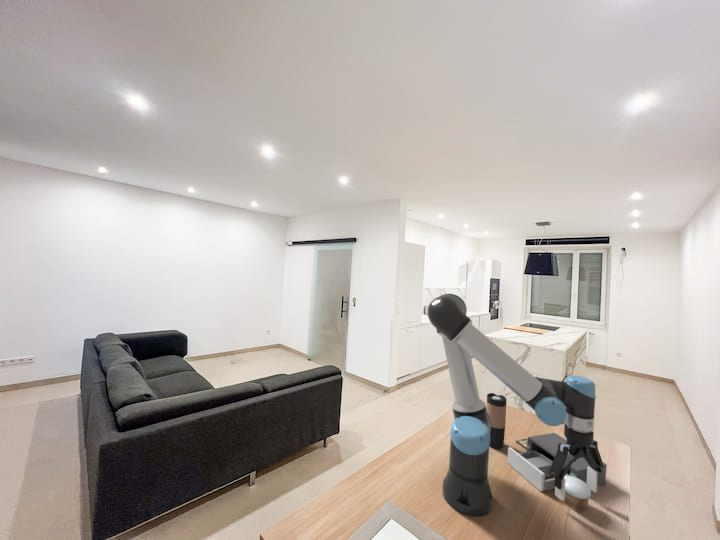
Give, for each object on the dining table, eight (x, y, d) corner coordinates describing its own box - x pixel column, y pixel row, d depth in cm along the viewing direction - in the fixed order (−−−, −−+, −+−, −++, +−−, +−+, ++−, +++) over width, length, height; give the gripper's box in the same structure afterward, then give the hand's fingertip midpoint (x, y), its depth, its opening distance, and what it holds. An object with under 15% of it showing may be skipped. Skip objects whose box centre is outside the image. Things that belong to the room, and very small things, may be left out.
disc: (578, 501, 90) (578, 496, 90) (553, 482, 98) (554, 477, 98) (597, 496, 93) (597, 491, 93) (572, 478, 100) (572, 473, 100)
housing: (573, 491, 101) (575, 471, 101) (525, 454, 120) (526, 437, 120) (605, 483, 105) (606, 464, 105) (553, 449, 124) (554, 432, 124)
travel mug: (492, 450, 122) (495, 401, 121) (480, 439, 129) (482, 393, 129) (508, 448, 124) (511, 400, 123) (495, 437, 131) (497, 392, 131)
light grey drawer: (541, 491, 100) (542, 474, 100) (507, 462, 114) (508, 447, 114) (570, 484, 104) (571, 468, 104) (534, 457, 118) (535, 442, 118)
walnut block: (575, 511, 92) (576, 496, 92) (560, 499, 97) (561, 484, 97) (587, 508, 94) (588, 493, 94) (572, 496, 99) (573, 482, 99)
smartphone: (547, 466, 114) (547, 463, 114) (515, 443, 128) (516, 440, 128) (563, 462, 117) (563, 459, 117) (530, 440, 131) (530, 437, 131)
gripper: (559, 439, 88) (556, 511, 88) (619, 428, 95) (616, 494, 95) (537, 426, 95) (535, 492, 95) (595, 416, 102) (592, 478, 103)
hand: (575, 493), depth 95 cm, fingers open, 13 cm apart
